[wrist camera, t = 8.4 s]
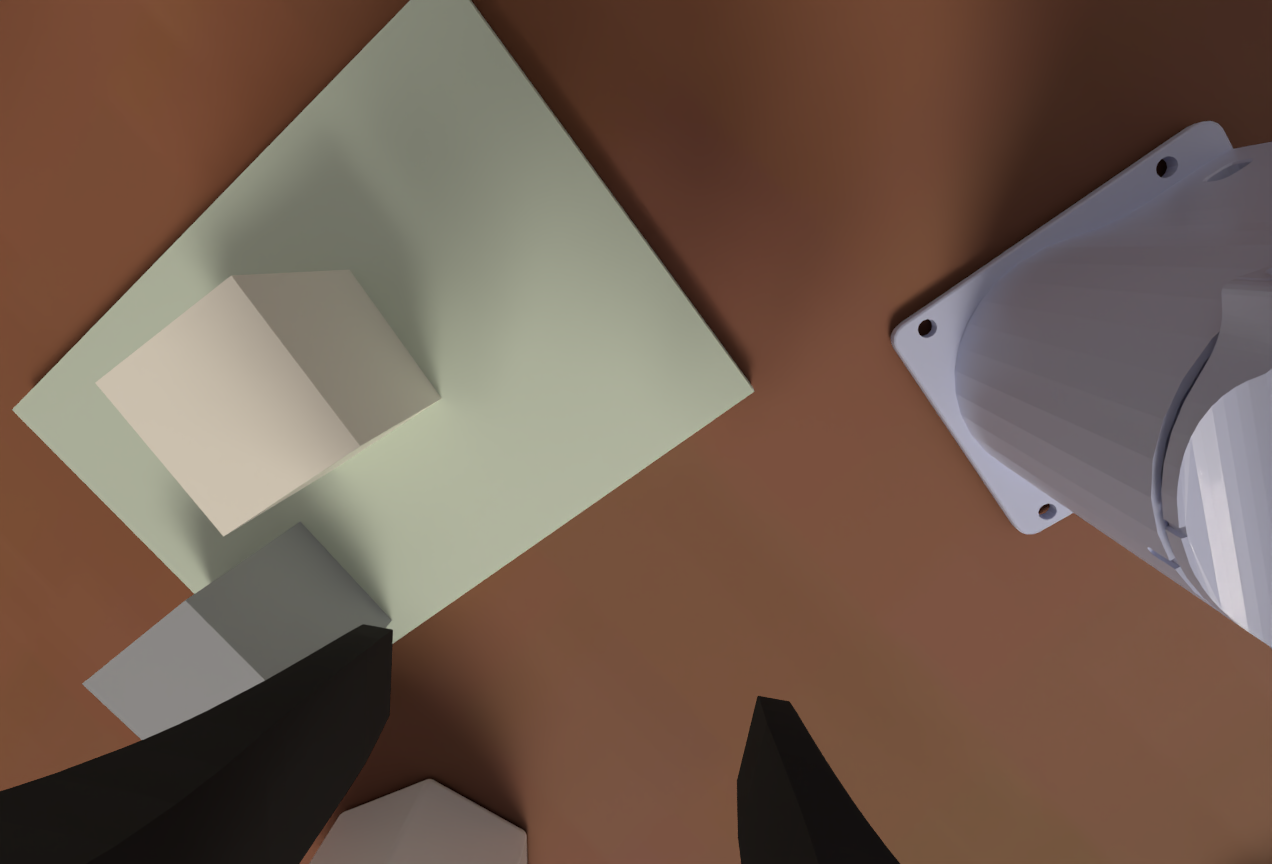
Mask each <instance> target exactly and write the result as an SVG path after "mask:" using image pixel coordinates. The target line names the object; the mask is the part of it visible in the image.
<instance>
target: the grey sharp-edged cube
mask: <svg viewBox="0 0 1272 864" xmlns="http://www.w3.org/2000/svg"><path fill="white" fill-rule="evenodd" d="M391 621H392V620H391V619H390V618H389V617H388V615H387V614H386V613H385V612H384V611H383V610H382V609H381V608H380V607H379V606H378V605H377V604H376V603H375V601H374V600H373V599H372V598H371V597H370V596H369V595H368V594H367V593H366V592H365V591H364V590H363V589H362V587H361V586H360V585H359V584H358V583H357V582H356V581H355V580H354V579H353V578H352V577H351V576H350V575H349V573H348V572H347V571H346V570H345V569H344V568H343V567H342V566H341V565H340V564H339V563H338V562H337V560H336V559H335V558H334V557H333V556H332V555H331V554H330V553H329V552H328V551H327V550H326V549H325V548H324V546H323V545H322V544H321V543H320V542H319V541H318V540H317V539H316V538H315V537H314V536H313V535H312V534H311V532H310V531H309V530H308V529H307V528H306V527H305V526H304V525H303V524H302V523H301V522H299V523H297V524H296V525H294V526H293V527H291V528H290V529H288V530H287V531H285V532H284V533H283V534H281V535H280V536H278V537H277V538H275V539H274V540H272V541H271V542H269V543H268V544H267V545H265V546H264V547H262V548H261V549H259V550H258V551H256V552H255V553H253V554H252V555H251V556H249V557H248V558H246V559H245V560H243V561H242V562H240V563H239V564H238V565H236V566H235V567H233V568H232V569H230V570H229V571H227V572H226V573H224V574H223V575H222V576H220V577H219V578H217V579H216V580H214V581H213V582H211V583H210V584H208V585H207V586H206V587H204V588H203V589H201V590H200V591H198V592H197V593H195V594H194V595H192V596H191V597H190V598H188V599H187V600H185V601H184V602H183V603H182V604H180V605H179V606H178V607H177V608H175V609H174V610H173V611H172V612H170V613H169V614H168V615H167V616H165V617H164V618H163V619H162V620H161V621H159V622H158V623H157V624H156V625H154V626H153V627H152V628H151V629H149V630H148V631H147V632H146V633H144V634H143V635H142V636H141V637H140V638H138V639H137V640H136V641H135V642H133V643H132V644H131V645H130V646H128V647H127V648H126V649H125V650H123V651H122V652H121V653H120V654H119V655H117V656H116V657H115V658H114V659H112V660H111V661H110V662H109V663H107V664H106V665H105V666H104V667H102V668H101V669H100V670H99V671H98V672H96V673H95V674H94V675H93V676H91V677H90V678H89V679H88V680H86V681H85V682H84V683H83V685H84V686H85V687H86V688H87V689H88V690H89V691H90V692H91V693H92V694H93V695H94V696H96V697H97V698H98V699H99V700H100V701H101V702H102V703H103V704H104V705H105V706H106V707H107V708H108V709H109V710H111V711H112V712H113V713H114V714H115V715H116V716H117V717H118V718H119V719H120V720H121V721H122V722H123V723H124V724H125V725H127V726H128V727H129V728H130V729H131V730H132V731H133V732H134V733H135V734H136V735H137V736H138V737H139V738H140V739H141V740H144V739H146V738H148V737H151V736H153V735H155V734H158V733H160V732H162V731H164V730H167V729H169V728H171V727H174V726H176V725H178V724H180V723H182V722H184V721H187V720H189V719H191V718H193V717H195V716H197V715H199V714H201V713H203V712H205V711H208V710H210V709H211V708H213V707H215V706H217V705H219V704H221V703H223V702H225V701H227V700H229V699H231V698H232V697H234V696H236V695H238V694H240V693H242V692H244V691H246V690H248V689H250V688H252V687H254V686H255V685H257V684H259V683H261V682H263V681H265V680H267V679H269V678H270V677H272V676H274V675H276V674H277V673H279V672H281V671H282V670H284V669H286V668H288V667H289V666H291V665H293V664H295V663H296V662H298V661H300V660H302V659H303V658H305V657H307V656H309V655H310V654H312V653H314V652H315V651H317V650H319V649H321V648H322V647H324V646H326V645H327V644H329V643H331V642H332V641H334V640H336V639H337V638H339V637H341V636H343V635H344V634H346V633H348V632H350V631H351V630H353V629H355V628H357V627H359V626H360V625H362V624H365V625H371V626H376V627H382V628H386V627H387V626H388V625H389V623H390V622H391Z"/></svg>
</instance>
